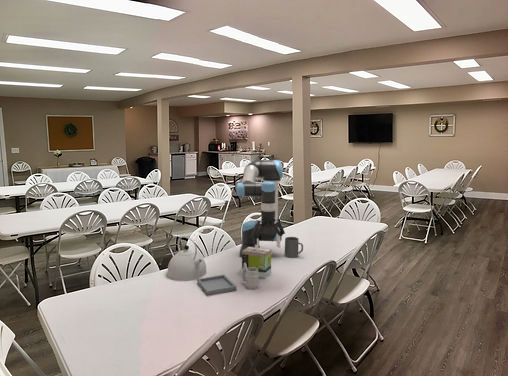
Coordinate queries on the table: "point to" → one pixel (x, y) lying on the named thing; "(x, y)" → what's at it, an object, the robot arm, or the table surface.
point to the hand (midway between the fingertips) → (267, 248)
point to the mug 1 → (250, 277)
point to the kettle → (186, 264)
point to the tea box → (257, 260)
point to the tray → (216, 285)
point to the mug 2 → (292, 247)
